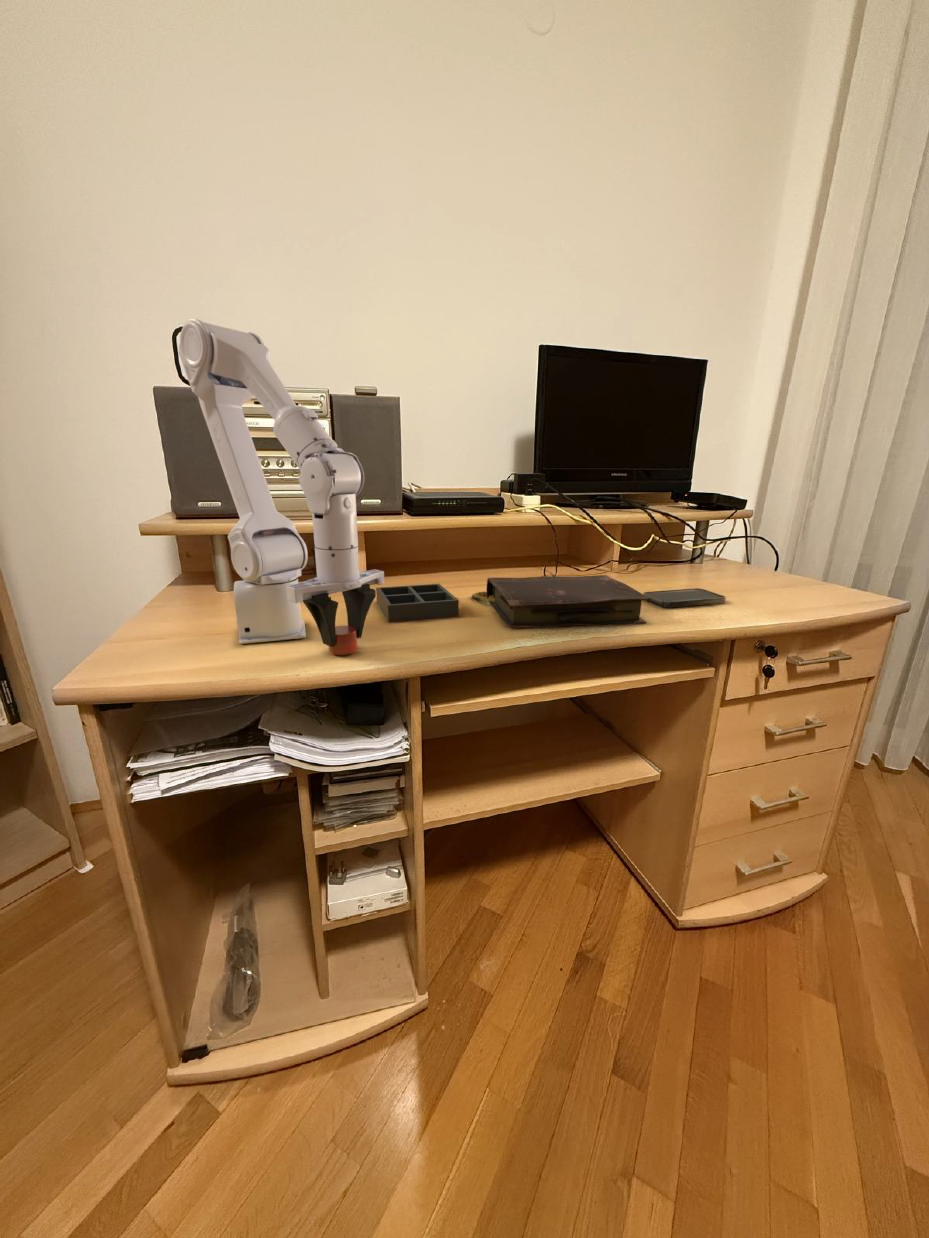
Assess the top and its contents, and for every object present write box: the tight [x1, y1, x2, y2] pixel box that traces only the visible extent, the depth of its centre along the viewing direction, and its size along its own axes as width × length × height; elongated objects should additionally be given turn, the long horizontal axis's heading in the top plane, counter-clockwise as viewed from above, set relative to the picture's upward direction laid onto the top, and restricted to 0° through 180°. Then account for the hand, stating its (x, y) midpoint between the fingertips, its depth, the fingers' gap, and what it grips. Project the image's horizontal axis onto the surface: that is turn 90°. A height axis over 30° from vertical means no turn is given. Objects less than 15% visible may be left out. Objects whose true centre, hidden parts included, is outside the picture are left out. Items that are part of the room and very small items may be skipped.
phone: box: [642, 587, 727, 608], centre depth 100 cm, size 8×1×15 cm
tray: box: [375, 583, 460, 623], centre depth 91 cm, size 13×13×3 cm
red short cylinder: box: [328, 625, 358, 656], centre depth 70 cm, size 4×4×3 cm
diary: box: [485, 574, 650, 629], centre depth 91 cm, size 19×25×5 cm
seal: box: [471, 591, 495, 607], centre depth 98 cm, size 9×5×15 cm
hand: (342, 640), depth 70 cm, fingers closed on red short cylinder, 4 cm apart
